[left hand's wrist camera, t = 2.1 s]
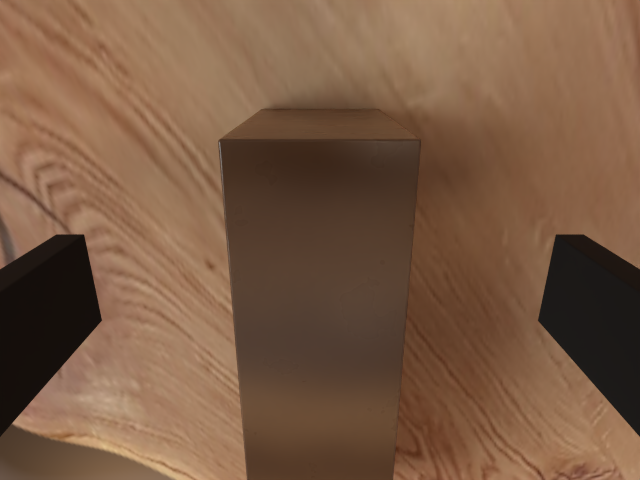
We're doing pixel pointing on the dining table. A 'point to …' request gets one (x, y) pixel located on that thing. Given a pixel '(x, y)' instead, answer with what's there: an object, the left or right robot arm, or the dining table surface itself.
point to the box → (319, 287)
